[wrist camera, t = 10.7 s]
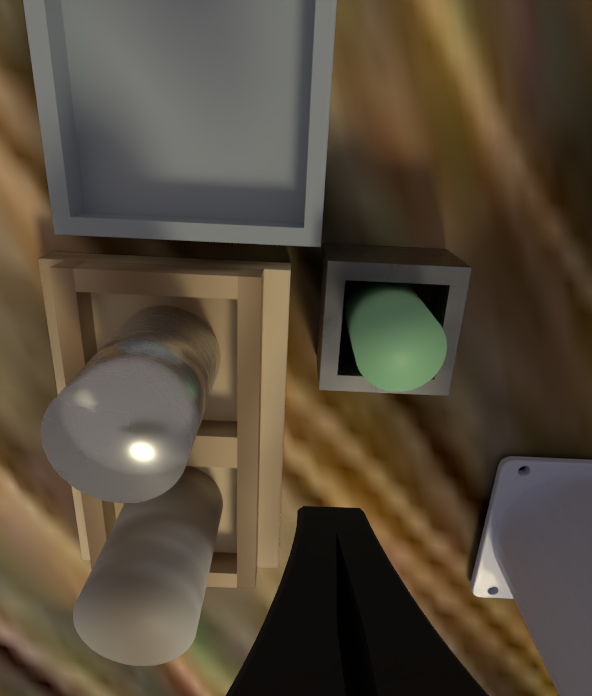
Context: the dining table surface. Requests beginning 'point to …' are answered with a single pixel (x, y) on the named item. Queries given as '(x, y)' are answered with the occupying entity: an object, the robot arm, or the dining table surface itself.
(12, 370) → the dining table surface
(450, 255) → the switch box
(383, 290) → the button
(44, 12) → the tray
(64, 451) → the cylinder
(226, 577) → the light brown divided box
